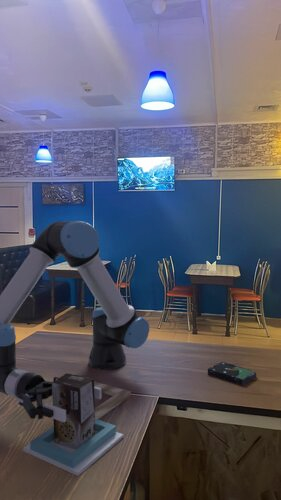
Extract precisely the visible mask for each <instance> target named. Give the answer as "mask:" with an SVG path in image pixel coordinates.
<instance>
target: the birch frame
mask: <svg viewBox="0 0 281 500" xmlns="http://www.w3.org/2000/svg"><path fill="white" fill-rule="evenodd" d="M94 387H98V388H101V394H105V395H109V396H111V397H109V399H107V400H105V401H104V402H102V403H101V404H99V405H98V406H95V419H98V420H100V418H102V417H103V416H105V415H106V414H108V413H109V412H111V411H112V410H113V409H115V408H117V406H119V405H120V404H122V403H123V402H124V401H126V400H128V399H129V398H130V397H131V395H132V393H131V391H130V390H127V389H122V388H119V387H115V386H112V385H109V384H104V383H101V382H97V381H94ZM48 404H50V405H53V401H51V402H50V403H48Z"/></svg>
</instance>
